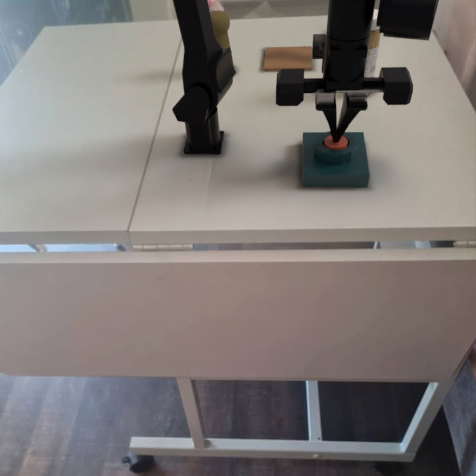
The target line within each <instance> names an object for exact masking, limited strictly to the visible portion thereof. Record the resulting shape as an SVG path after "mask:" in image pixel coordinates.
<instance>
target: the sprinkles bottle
mask: <svg viewBox="0 0 476 476" xmlns="http://www.w3.org/2000/svg"><path fill="white" fill-rule="evenodd" d="M377 15H378V9H376V8H374V15H373V21H372V28H371V35H370V42H369V48H368V55H367V62H366V68H365V75H364V76H367V77H375V73H376V68H377V67H376V66H377V61H378V56H379V55H378V54H379V48H380V40H381V34H382V33H379V30H380V27H376V22H377Z"/></svg>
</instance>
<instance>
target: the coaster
mask: <svg viewBox="0 0 476 476" xmlns="http://www.w3.org/2000/svg"><path fill="white" fill-rule="evenodd" d="M263 59H264V60H263V69H262V71H263V72H275V71H278V72H279V71H280V69H304V71H312V70H313V59H312V46H274V47H273V46H267V47H265V52H264V58H263Z"/></svg>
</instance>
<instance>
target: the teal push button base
mask: <svg viewBox="0 0 476 476" xmlns="http://www.w3.org/2000/svg"><path fill="white" fill-rule="evenodd" d="M328 136H331V132H330V130H329V131H323V132H322V131H309V132H308V131H306V132H305V131H304V132H302V145H301V147H302V148H301V153H302V155H301V157H302V159H301V164H302V166H301V169H302V170H301V173H302V175H301V178H302V179H301V180H302V181H301V182H302V183H301V184H302V185H301V186H302V187H303V188H368V187H369V182H370V177H371V176H370V175H371V174H370V168H369V160H368V153H367V146H366V140H365V132H364V131H345V132H344V134H343V137H345V138H346V139H347V141H348V143H347V148H345V149H342V150H331V149H328V148H326V147H325V146H324V140H325V138H326V137H328Z"/></svg>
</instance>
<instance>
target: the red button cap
mask: <svg viewBox="0 0 476 476" xmlns="http://www.w3.org/2000/svg"><path fill="white" fill-rule="evenodd" d="M347 143H348V141H347V139H346V138H345V137H343V136H342V137H341V139H340V141H339V142H333V139H332V135H331V136H328V137H326V138H325V140H324V146H325V147H326V148H328V149H331V150H342V149H345V148H347Z"/></svg>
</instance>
